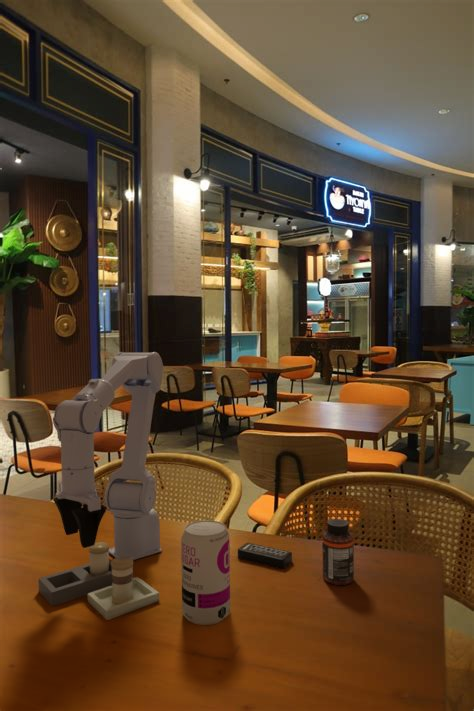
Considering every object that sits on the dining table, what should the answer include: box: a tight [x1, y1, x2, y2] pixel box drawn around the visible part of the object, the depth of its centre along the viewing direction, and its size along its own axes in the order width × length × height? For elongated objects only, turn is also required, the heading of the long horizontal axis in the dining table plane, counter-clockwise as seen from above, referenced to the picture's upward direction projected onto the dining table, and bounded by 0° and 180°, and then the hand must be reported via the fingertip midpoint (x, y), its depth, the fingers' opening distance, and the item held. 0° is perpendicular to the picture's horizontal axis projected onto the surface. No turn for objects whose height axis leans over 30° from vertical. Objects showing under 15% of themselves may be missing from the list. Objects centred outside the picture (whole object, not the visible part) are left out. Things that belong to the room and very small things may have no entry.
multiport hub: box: [237, 542, 293, 570], centre depth 113 cm, size 4×11×2 cm, turn 59°
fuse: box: [88, 541, 110, 576], centre depth 103 cm, size 4×4×7 cm
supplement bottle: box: [321, 518, 355, 586], centre depth 103 cm, size 6×6×11 cm
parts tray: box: [87, 576, 160, 621], centre depth 96 cm, size 10×8×2 cm
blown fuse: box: [111, 557, 134, 605], centre depth 95 cm, size 4×4×7 cm
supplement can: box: [180, 519, 231, 626], centre depth 91 cm, size 8×8×15 cm
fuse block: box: [38, 558, 113, 607], centre depth 101 cm, size 14×7×2 cm, turn 129°
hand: (79, 539), depth 98 cm, fingers open, 7 cm apart
